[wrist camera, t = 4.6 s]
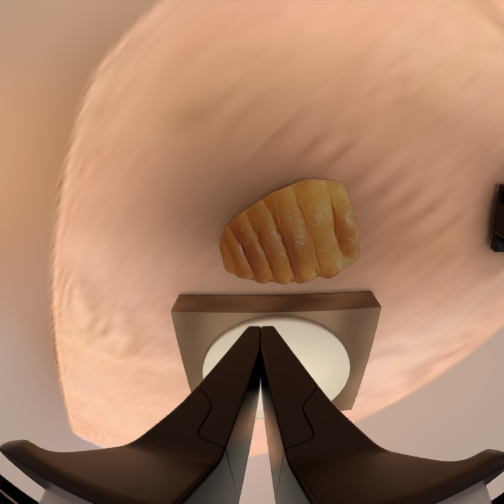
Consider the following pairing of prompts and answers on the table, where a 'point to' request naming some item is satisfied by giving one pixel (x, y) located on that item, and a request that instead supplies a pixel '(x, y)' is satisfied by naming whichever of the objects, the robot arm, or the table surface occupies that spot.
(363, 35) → the table surface
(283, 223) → the pastry
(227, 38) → the table surface
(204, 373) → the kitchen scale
